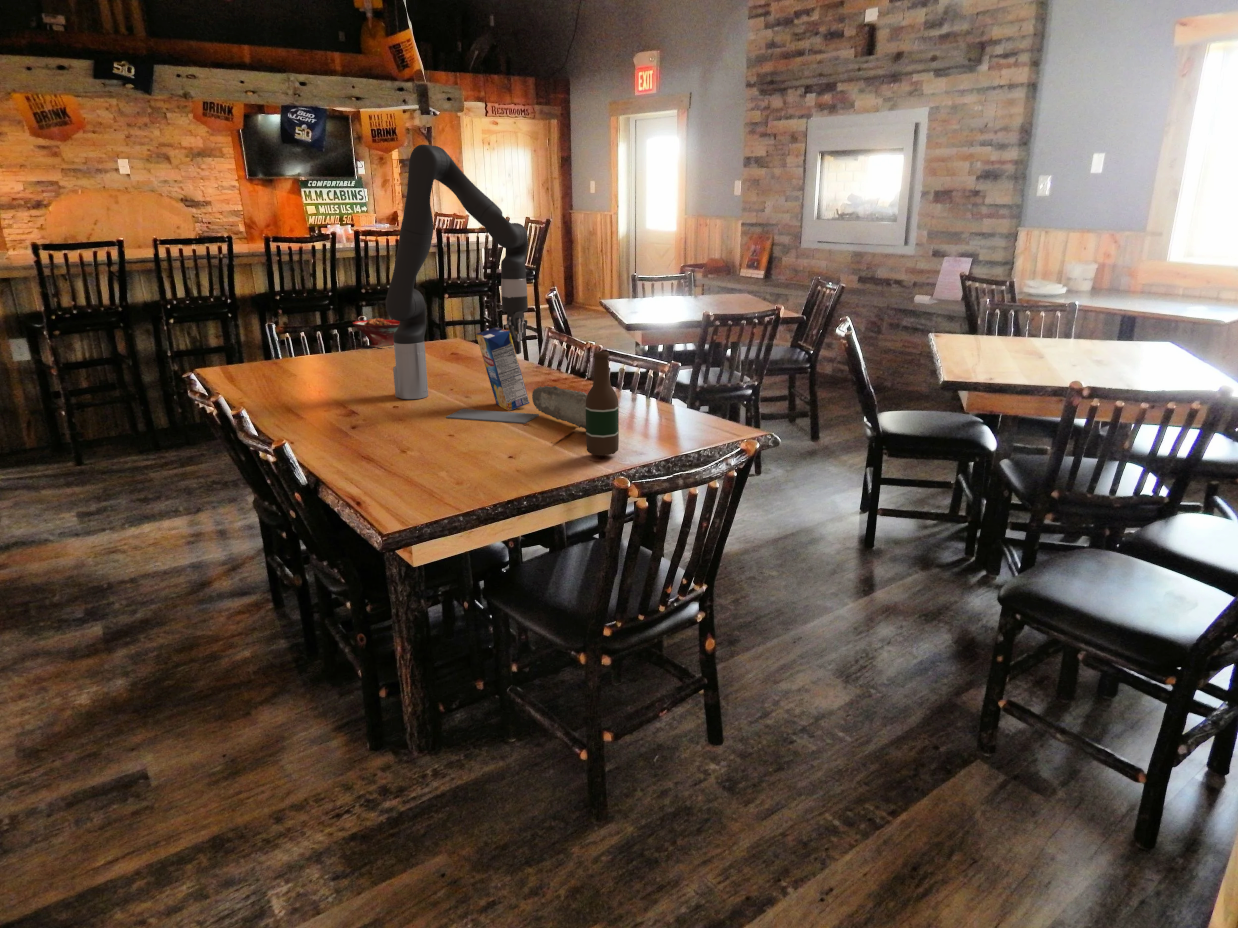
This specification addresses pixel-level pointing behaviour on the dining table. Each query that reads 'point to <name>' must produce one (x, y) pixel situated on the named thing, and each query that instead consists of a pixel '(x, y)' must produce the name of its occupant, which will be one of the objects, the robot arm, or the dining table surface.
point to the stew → (377, 332)
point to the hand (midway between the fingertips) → (516, 353)
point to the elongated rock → (561, 404)
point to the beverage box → (503, 368)
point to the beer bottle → (602, 410)
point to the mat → (493, 416)
